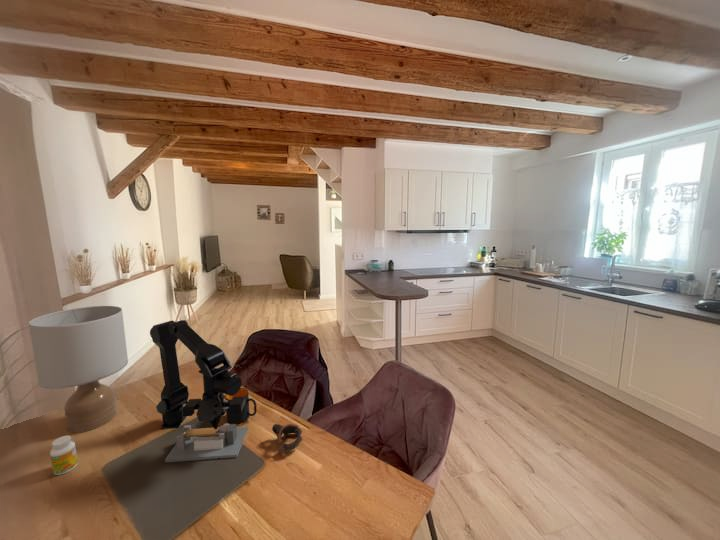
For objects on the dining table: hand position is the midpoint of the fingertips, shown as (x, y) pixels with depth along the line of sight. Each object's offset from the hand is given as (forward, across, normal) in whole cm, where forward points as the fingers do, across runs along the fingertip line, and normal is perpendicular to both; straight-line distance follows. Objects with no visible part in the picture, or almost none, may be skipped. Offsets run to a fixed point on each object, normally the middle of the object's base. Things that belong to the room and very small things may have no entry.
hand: (216, 428), depth 98 cm
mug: (+6, +5, +13) cm, 15 cm away
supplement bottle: (+6, -42, -6) cm, 43 cm away
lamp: (+6, -52, +17) cm, 55 cm away
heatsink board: (+6, -2, 0) cm, 6 cm away
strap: (+2, -4, 0) cm, 4 cm away
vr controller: (+6, +24, -2) cm, 25 cm away
